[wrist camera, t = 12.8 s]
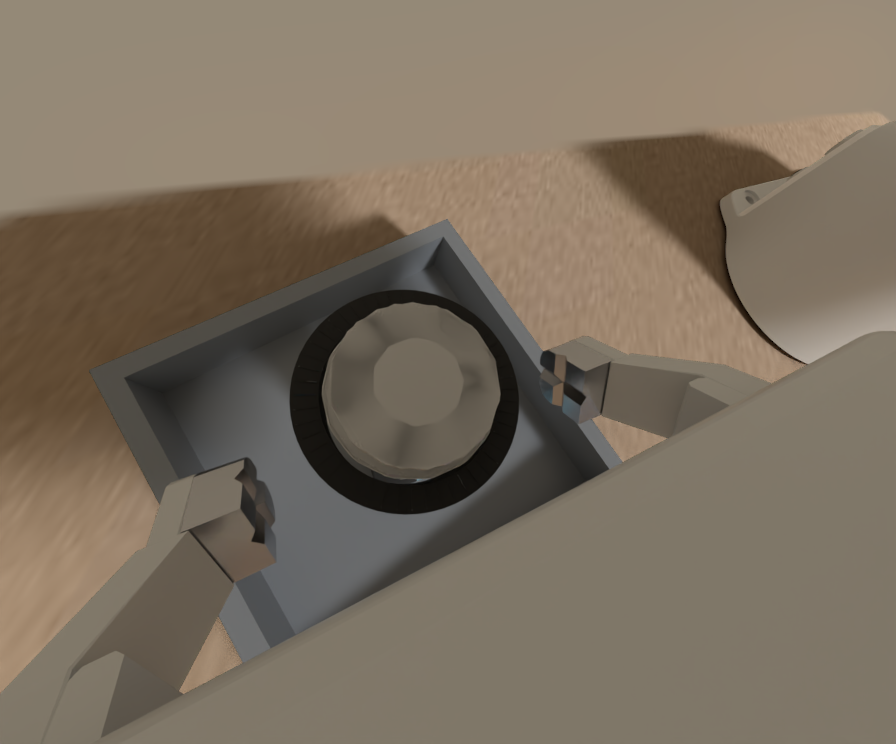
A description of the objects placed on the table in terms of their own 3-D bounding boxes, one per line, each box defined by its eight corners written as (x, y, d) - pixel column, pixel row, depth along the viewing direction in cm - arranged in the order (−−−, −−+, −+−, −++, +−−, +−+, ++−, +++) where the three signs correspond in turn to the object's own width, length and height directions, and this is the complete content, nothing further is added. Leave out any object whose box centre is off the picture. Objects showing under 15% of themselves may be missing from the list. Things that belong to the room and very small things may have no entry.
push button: (310, 371, 16) (238, 233, 7) (415, 346, 18) (470, 206, 9) (346, 511, 15) (317, 570, 6) (457, 470, 17) (574, 463, 7)
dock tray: (434, 258, 21) (447, 218, 18) (592, 483, 19) (639, 484, 16) (146, 392, 15) (88, 370, 12) (329, 725, 14) (317, 804, 10)
